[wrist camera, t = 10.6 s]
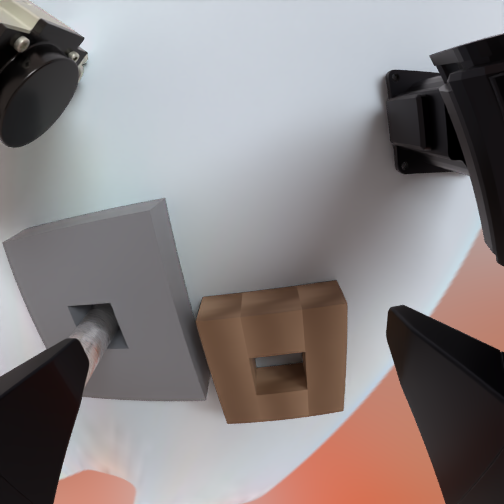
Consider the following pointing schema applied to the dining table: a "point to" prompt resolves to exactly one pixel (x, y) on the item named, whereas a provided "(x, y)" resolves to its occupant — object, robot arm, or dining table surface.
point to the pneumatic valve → (35, 70)
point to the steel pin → (96, 333)
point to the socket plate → (116, 298)
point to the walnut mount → (276, 351)
